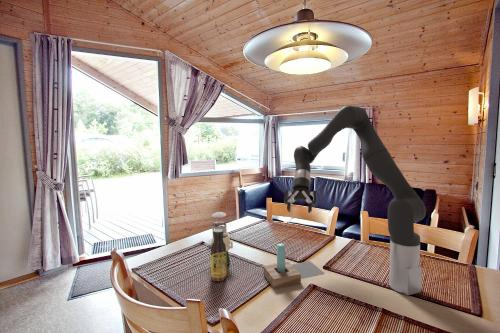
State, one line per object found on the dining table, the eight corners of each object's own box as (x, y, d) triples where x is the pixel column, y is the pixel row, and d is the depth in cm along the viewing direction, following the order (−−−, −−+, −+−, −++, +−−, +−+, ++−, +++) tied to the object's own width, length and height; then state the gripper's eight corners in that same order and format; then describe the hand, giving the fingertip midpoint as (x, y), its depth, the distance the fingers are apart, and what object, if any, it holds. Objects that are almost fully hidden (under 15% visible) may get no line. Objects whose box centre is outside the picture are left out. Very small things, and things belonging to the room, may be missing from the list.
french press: (221, 243, 145) (219, 197, 143) (205, 239, 152) (202, 195, 149) (232, 237, 153) (230, 194, 151) (216, 234, 160) (214, 192, 157)
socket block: (300, 283, 103) (300, 273, 103) (274, 289, 100) (273, 279, 100) (288, 270, 114) (288, 261, 113) (263, 275, 111) (263, 265, 110)
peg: (286, 280, 106) (286, 246, 105) (279, 282, 105) (278, 247, 104) (283, 276, 109) (282, 243, 108) (276, 278, 108) (275, 244, 107)
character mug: (208, 265, 121) (206, 236, 120) (217, 258, 127) (216, 231, 126) (229, 269, 116) (228, 240, 115) (237, 262, 123) (236, 234, 121)
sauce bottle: (213, 284, 105) (211, 234, 103) (209, 276, 111) (206, 229, 109) (229, 280, 108) (227, 231, 106) (224, 273, 113) (222, 226, 111)
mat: (325, 274, 110) (325, 273, 110) (298, 279, 106) (298, 279, 106) (310, 261, 121) (310, 261, 121) (285, 266, 118) (285, 265, 118)
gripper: (285, 176, 127) (281, 206, 117) (317, 176, 122) (315, 207, 112) (287, 185, 132) (284, 215, 122) (318, 186, 128) (316, 216, 118)
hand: (299, 211), depth 117 cm, fingers open, 8 cm apart
